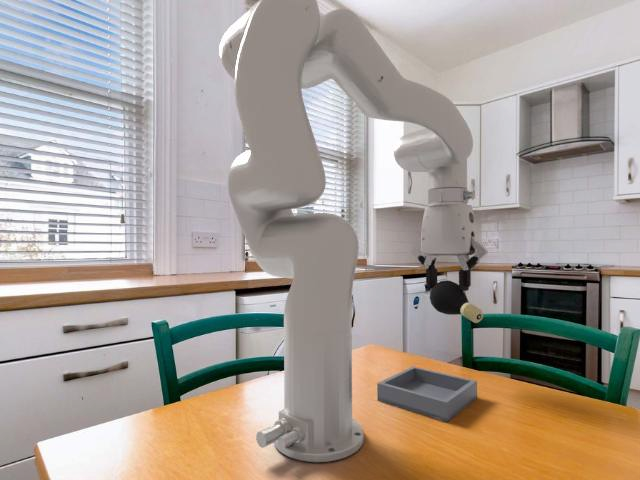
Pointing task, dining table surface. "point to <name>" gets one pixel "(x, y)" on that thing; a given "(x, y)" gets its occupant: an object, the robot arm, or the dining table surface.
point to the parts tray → (428, 392)
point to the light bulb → (453, 301)
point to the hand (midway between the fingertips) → (447, 288)
